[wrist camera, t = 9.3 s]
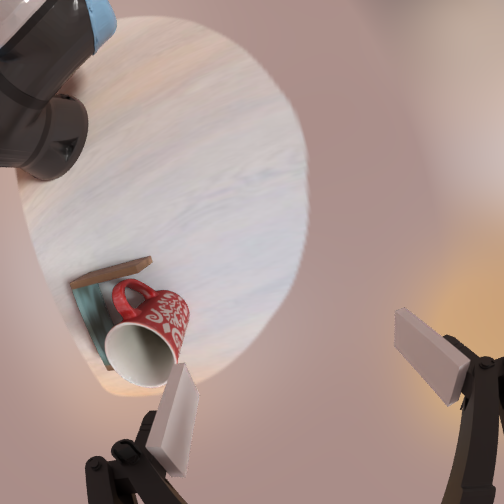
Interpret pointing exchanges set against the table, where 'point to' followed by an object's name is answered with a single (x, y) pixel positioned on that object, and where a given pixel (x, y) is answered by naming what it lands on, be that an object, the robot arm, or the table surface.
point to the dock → (101, 300)
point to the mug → (146, 334)
